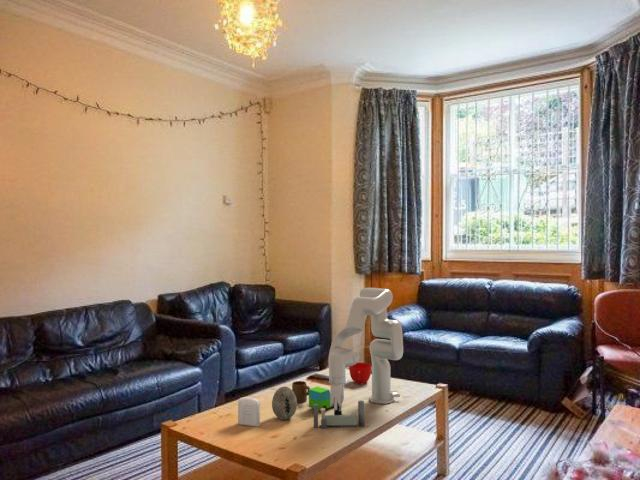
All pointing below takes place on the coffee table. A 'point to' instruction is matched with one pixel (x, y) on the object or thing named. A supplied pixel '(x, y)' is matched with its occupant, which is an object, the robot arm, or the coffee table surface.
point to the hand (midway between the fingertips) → (338, 419)
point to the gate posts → (324, 425)
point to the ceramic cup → (360, 372)
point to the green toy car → (319, 398)
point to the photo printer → (249, 411)
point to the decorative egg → (284, 403)
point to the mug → (300, 391)
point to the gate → (339, 418)
